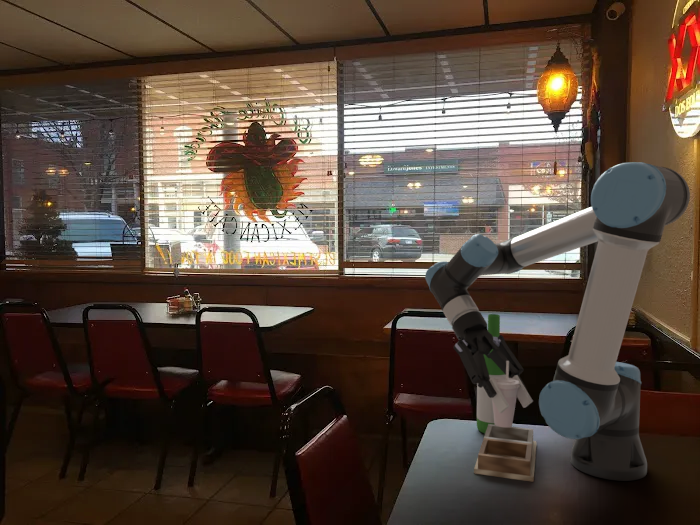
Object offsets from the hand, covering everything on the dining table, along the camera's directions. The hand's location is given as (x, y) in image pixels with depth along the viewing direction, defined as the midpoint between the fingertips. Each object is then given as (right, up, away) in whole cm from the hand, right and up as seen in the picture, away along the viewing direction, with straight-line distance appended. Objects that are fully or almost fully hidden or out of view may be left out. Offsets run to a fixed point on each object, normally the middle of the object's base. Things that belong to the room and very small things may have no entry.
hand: (516, 406), depth 120 cm
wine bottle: (+1, -13, +26) cm, 29 cm away
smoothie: (-2, -5, +3) cm, 6 cm away
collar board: (0, -14, +8) cm, 16 cm away
